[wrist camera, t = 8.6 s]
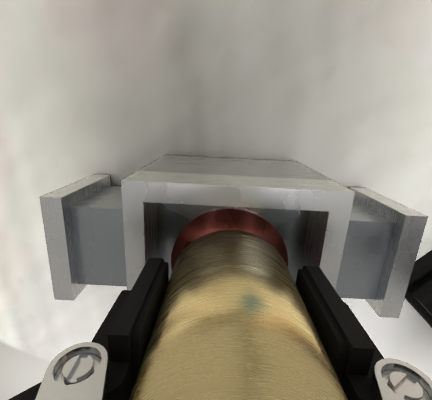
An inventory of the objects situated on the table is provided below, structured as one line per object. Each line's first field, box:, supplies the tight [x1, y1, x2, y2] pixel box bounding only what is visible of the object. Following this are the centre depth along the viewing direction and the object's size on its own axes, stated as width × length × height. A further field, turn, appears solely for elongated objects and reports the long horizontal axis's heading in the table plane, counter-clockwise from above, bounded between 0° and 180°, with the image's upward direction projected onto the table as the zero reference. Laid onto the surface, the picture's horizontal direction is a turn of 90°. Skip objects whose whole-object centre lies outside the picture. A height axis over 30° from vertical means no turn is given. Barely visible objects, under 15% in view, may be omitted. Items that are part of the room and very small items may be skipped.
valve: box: [40, 155, 428, 318], centre depth 15 cm, size 9×18×8 cm, turn 87°
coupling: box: [129, 230, 348, 400], centre depth 8 cm, size 5×5×7 cm
